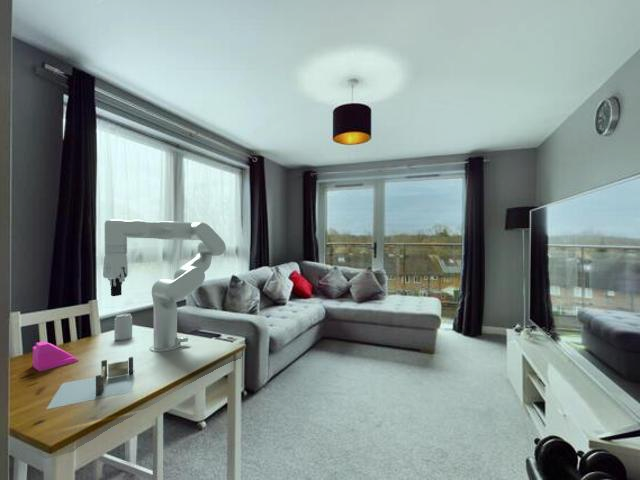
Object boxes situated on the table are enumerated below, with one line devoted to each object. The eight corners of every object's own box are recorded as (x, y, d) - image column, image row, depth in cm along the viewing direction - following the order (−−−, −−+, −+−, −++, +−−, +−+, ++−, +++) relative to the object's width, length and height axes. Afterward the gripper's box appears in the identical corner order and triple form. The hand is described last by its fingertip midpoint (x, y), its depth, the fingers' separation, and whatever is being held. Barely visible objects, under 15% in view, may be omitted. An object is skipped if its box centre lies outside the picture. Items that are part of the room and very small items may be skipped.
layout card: (134, 371, 113) (134, 370, 113) (131, 393, 97) (131, 391, 97) (62, 384, 103) (62, 382, 103) (46, 411, 87) (46, 409, 87)
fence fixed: (133, 372, 111) (133, 355, 111) (130, 389, 99) (130, 369, 99) (101, 378, 106) (101, 360, 106) (95, 396, 94) (95, 376, 94)
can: (110, 340, 148) (110, 316, 148) (122, 335, 155) (122, 312, 155) (124, 341, 146) (124, 316, 146) (135, 336, 154) (135, 313, 154)
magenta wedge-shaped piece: (39, 373, 112) (39, 345, 112) (32, 366, 118) (32, 340, 118) (79, 362, 122) (79, 337, 121) (71, 356, 128) (71, 332, 128)
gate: (102, 379, 105) (102, 365, 105) (105, 379, 105) (105, 365, 105) (100, 392, 96) (100, 377, 96) (103, 391, 97) (103, 376, 97)
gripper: (96, 250, 122) (96, 295, 122) (115, 251, 115) (115, 299, 115) (116, 249, 129) (116, 292, 129) (135, 250, 121) (136, 295, 121)
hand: (116, 295), depth 122 cm, fingers closed
